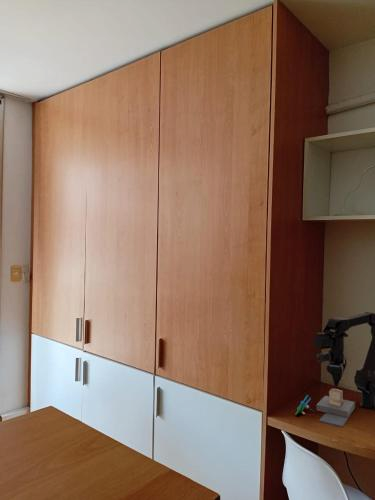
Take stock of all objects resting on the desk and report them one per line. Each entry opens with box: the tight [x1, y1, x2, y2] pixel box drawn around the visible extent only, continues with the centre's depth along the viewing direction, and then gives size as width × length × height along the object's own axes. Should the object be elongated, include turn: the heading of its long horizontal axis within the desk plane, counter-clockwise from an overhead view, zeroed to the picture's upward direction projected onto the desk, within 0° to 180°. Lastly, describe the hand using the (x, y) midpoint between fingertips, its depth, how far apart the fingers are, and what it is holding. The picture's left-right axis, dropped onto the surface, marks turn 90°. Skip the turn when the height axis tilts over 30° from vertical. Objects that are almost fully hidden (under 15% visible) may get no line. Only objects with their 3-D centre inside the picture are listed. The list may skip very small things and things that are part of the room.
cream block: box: [328, 388, 344, 407], centre depth 168 cm, size 4×4×8 cm
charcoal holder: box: [316, 395, 356, 419], centre depth 168 cm, size 13×13×2 cm
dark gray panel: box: [318, 412, 349, 428], centre depth 156 cm, size 9×9×1 cm
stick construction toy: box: [295, 394, 316, 416], centre depth 164 cm, size 12×7×8 cm
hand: (337, 383), depth 166 cm, fingers open, 9 cm apart
